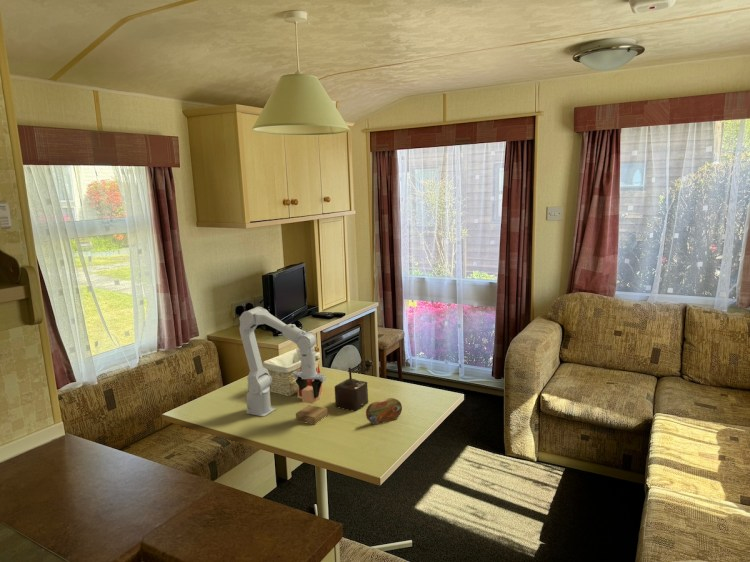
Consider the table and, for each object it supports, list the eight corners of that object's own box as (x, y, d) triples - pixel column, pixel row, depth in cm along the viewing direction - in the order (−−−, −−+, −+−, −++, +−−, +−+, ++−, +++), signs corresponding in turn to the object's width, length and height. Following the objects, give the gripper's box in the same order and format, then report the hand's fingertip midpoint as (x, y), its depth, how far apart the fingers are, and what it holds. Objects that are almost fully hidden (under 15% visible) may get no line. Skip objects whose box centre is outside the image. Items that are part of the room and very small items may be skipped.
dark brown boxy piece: (356, 412, 212) (354, 370, 209) (334, 407, 217) (332, 366, 214) (376, 398, 224) (374, 359, 221) (355, 394, 230) (353, 355, 227)
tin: (368, 426, 198) (367, 406, 196) (365, 423, 201) (364, 403, 199) (402, 417, 205) (402, 397, 203) (398, 414, 207) (398, 394, 206)
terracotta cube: (302, 401, 206) (301, 390, 205) (309, 397, 210) (308, 385, 209) (312, 403, 203) (312, 391, 202) (319, 399, 208) (319, 387, 207)
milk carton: (297, 397, 229) (294, 354, 226) (307, 390, 238) (304, 348, 234) (315, 400, 226) (312, 356, 222) (325, 392, 234) (322, 350, 231)
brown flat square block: (296, 420, 206) (295, 413, 205) (309, 411, 214) (308, 405, 213) (314, 424, 202) (314, 417, 201) (327, 415, 210) (327, 408, 209)
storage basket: (289, 398, 229) (286, 366, 227) (263, 392, 238) (260, 361, 236) (323, 381, 248) (321, 351, 246) (298, 376, 258) (296, 347, 255)
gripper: (287, 364, 204) (289, 397, 206) (317, 368, 197) (320, 402, 199) (297, 359, 210) (300, 390, 212) (327, 363, 203) (329, 395, 205)
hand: (310, 396), depth 206 cm, fingers closed on terracotta cube, 5 cm apart
